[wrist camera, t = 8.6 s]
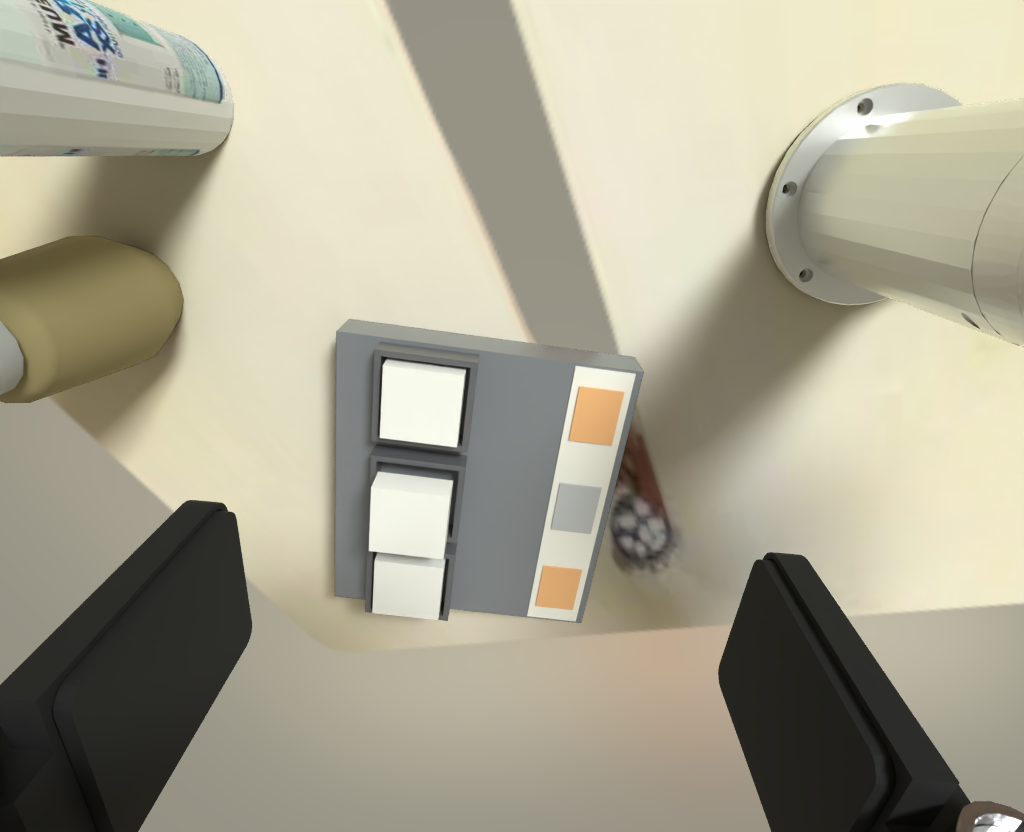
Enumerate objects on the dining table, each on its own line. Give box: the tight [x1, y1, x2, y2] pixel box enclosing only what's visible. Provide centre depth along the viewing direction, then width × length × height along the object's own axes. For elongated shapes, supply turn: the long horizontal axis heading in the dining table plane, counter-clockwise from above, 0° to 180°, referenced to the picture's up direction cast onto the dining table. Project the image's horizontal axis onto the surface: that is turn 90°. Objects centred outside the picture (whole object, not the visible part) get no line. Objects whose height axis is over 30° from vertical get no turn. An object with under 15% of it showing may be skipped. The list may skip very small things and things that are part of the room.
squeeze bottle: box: [0, 236, 183, 403], centre depth 29 cm, size 8×8×18 cm
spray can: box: [0, 0, 234, 156], centre depth 24 cm, size 6×6×20 cm
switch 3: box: [372, 552, 446, 620], centre depth 42 cm, size 5×5×2 cm
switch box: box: [335, 319, 644, 623], centre depth 41 cm, size 20×22×5 cm
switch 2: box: [369, 472, 453, 559], centre depth 37 cm, size 5×5×2 cm
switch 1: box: [380, 357, 467, 447], centre depth 36 cm, size 5×5×2 cm
